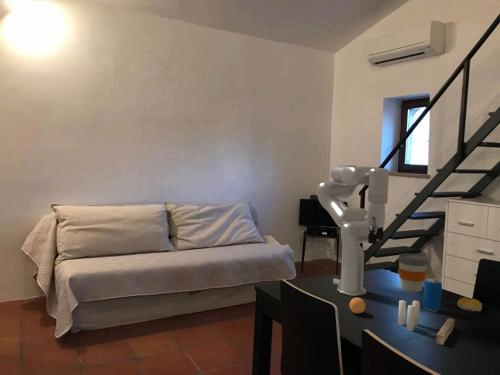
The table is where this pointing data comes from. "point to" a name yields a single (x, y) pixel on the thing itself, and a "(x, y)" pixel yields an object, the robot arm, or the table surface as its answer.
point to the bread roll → (469, 304)
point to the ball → (357, 305)
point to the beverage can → (432, 294)
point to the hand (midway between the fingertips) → (375, 241)
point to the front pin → (402, 312)
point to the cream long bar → (445, 331)
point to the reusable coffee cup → (412, 271)
